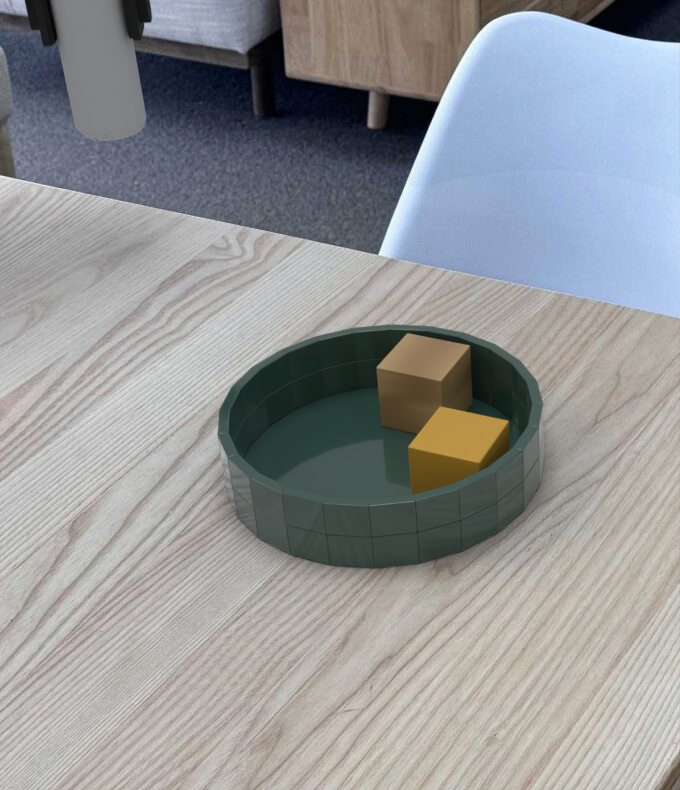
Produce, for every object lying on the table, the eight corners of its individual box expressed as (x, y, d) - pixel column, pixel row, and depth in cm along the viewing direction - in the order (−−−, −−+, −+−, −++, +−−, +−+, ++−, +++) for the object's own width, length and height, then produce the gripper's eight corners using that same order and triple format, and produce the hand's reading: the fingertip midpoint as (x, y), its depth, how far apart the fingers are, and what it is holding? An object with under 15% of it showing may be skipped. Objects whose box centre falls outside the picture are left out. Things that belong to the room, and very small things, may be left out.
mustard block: (412, 508, 74) (407, 446, 71) (443, 466, 77) (439, 405, 74) (482, 525, 72) (479, 462, 70) (511, 481, 75) (509, 420, 73)
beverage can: (63, 140, 94) (25, -39, 87) (97, 114, 98) (63, -60, 91) (129, 146, 93) (95, -36, 86) (160, 118, 97) (131, -57, 90)
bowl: (166, 531, 73) (152, 462, 71) (323, 367, 87) (316, 303, 84) (467, 610, 68) (463, 537, 65) (586, 421, 81) (586, 355, 79)
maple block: (381, 426, 80) (375, 367, 78) (411, 390, 83) (407, 332, 81) (444, 440, 79) (441, 380, 76) (473, 403, 82) (470, 345, 80)
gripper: (187, -283, 86) (227, 10, 96) (-100, -270, 84) (-29, 27, 94) (180, -265, 80) (224, 47, 90) (-130, -250, 78) (-50, 66, 88)
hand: (94, 33), depth 92 cm, fingers closed on beverage can, 4 cm apart
